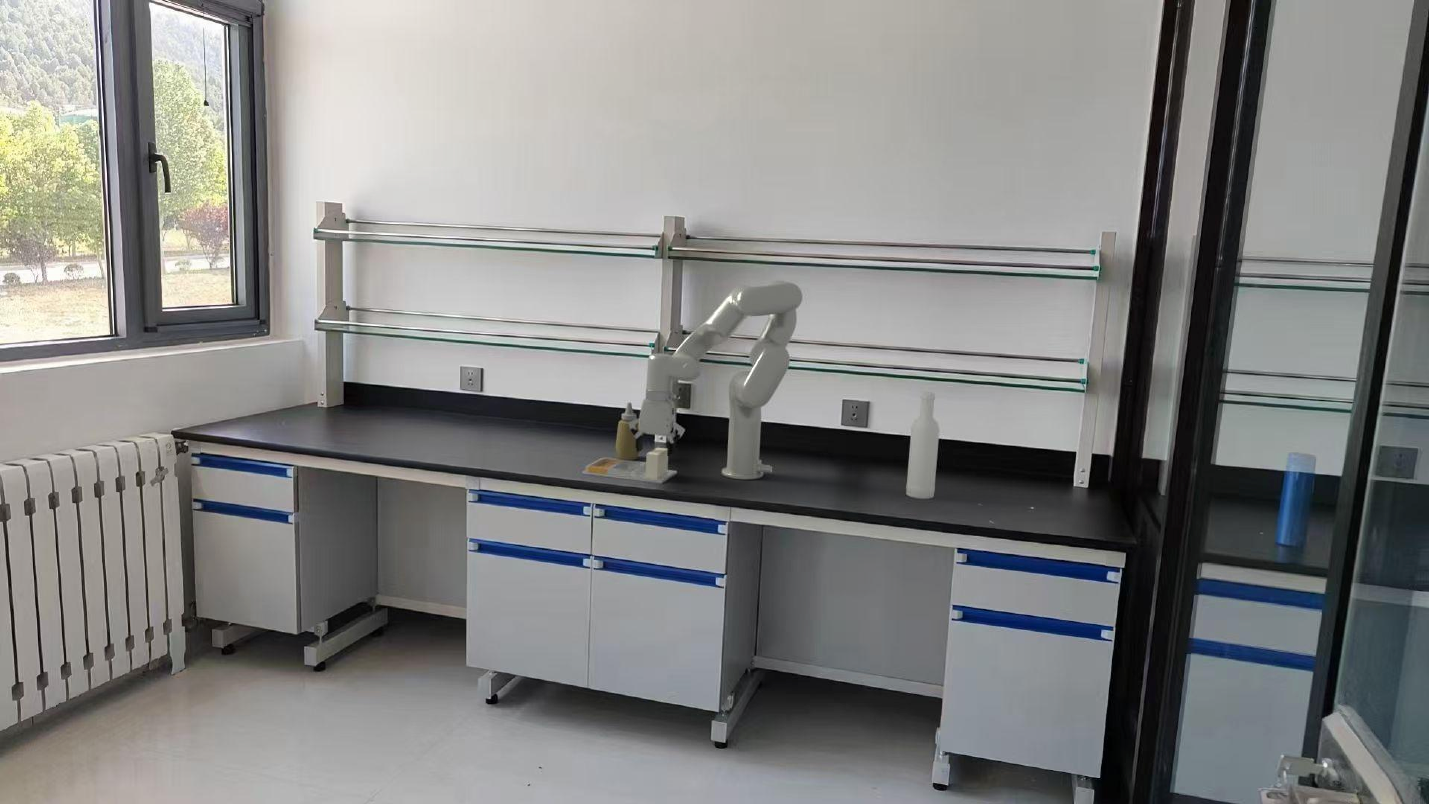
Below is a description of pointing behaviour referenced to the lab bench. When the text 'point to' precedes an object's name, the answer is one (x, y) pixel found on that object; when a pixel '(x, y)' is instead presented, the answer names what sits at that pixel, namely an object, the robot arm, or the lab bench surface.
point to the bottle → (923, 451)
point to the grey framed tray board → (624, 470)
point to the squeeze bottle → (626, 436)
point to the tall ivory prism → (656, 463)
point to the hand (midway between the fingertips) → (654, 453)
